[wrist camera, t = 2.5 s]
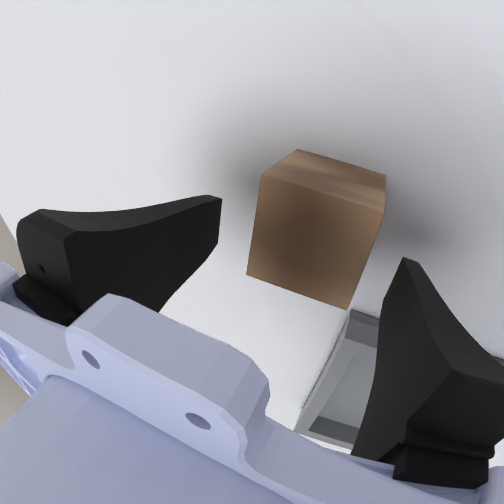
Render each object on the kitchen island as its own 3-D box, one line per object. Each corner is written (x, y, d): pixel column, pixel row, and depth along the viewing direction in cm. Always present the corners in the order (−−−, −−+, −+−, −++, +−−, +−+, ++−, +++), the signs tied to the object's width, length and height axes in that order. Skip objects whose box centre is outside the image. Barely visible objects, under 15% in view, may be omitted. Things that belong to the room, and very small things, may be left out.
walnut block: (385, 175, 14) (384, 212, 10) (359, 252, 17) (346, 310, 13) (297, 149, 15) (261, 174, 11) (281, 227, 18) (246, 274, 14)
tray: (504, 359, 15) (509, 387, 13) (421, 442, 22) (419, 465, 20) (351, 309, 18) (344, 337, 16) (302, 408, 25) (293, 431, 23)
